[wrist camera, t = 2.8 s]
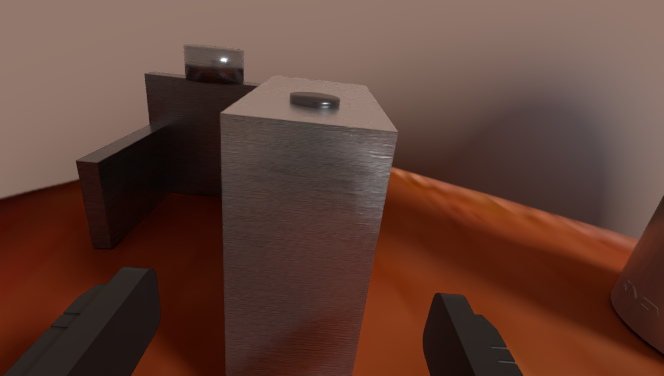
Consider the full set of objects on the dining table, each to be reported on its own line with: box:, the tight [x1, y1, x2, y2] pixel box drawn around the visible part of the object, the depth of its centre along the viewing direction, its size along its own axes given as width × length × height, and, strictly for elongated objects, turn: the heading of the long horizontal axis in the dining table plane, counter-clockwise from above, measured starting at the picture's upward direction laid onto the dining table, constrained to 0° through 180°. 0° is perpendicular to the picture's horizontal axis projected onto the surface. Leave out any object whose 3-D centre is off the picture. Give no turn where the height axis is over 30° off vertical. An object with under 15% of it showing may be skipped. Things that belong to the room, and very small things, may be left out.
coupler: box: [76, 44, 261, 249], centre depth 26 cm, size 10×12×12 cm
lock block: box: [220, 75, 398, 376], centre depth 17 cm, size 5×10×12 cm, turn 0°
